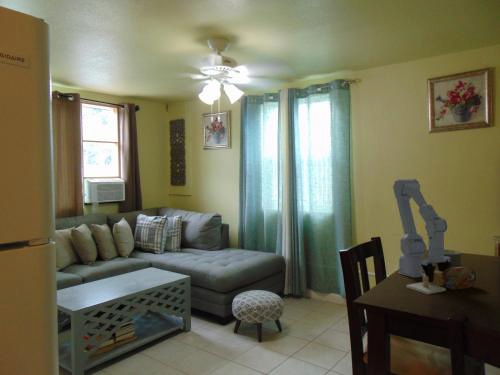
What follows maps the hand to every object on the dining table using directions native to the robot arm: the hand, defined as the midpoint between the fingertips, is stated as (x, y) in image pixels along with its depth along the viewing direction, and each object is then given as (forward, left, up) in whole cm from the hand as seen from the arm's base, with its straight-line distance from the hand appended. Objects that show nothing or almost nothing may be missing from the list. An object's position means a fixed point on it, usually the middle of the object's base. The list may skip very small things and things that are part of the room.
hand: (436, 280), depth 152 cm
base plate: (+3, -10, -2) cm, 11 cm away
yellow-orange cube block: (0, 0, -2) cm, 2 cm away
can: (-19, +33, -2) cm, 38 cm away
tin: (+8, +3, -2) cm, 8 cm away
